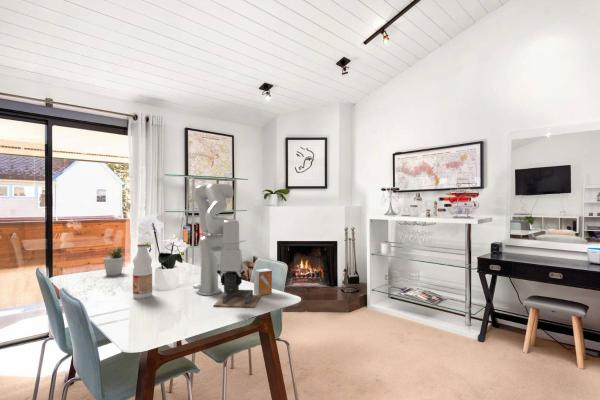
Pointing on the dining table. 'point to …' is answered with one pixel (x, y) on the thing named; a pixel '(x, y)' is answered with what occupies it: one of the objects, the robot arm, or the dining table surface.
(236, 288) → the supplement bottle
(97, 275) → the dining table surface
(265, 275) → the small box
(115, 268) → the potted plant
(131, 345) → the dining table surface
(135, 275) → the fruit juice
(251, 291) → the dock
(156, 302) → the dining table surface
